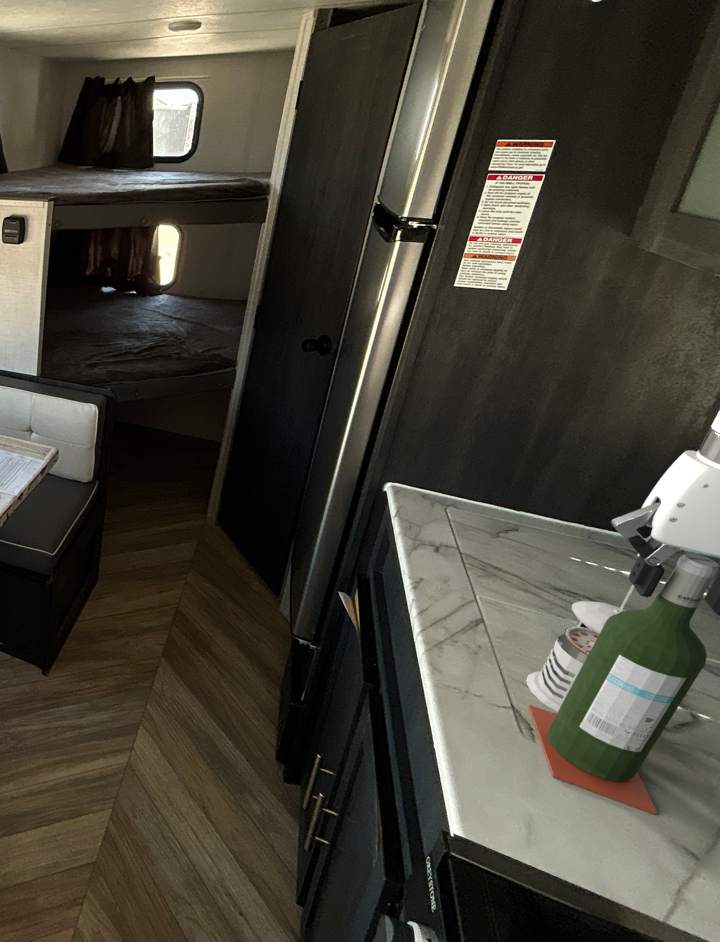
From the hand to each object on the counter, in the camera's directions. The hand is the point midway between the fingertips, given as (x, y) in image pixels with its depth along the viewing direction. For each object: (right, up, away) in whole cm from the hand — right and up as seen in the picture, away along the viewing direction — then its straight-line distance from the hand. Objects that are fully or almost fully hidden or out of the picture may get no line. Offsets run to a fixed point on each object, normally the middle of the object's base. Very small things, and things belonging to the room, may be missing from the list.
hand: (677, 597), depth 70 cm
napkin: (0, -23, +10) cm, 25 cm away
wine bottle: (0, -23, +9) cm, 25 cm away
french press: (+7, -20, +18) cm, 28 cm away
